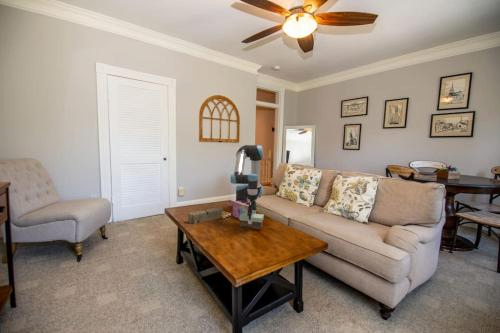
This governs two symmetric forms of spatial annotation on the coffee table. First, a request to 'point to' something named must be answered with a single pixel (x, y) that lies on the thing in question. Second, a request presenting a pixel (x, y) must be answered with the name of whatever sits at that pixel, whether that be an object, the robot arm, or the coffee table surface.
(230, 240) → the coffee table surface
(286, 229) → the coffee table surface
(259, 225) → the crate
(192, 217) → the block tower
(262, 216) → the lid
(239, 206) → the gum box
